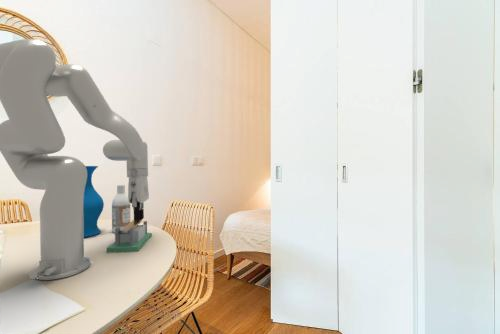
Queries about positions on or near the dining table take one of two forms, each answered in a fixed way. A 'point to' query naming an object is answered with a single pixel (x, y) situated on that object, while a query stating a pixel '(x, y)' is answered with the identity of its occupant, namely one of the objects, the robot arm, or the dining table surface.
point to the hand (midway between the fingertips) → (138, 219)
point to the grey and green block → (130, 239)
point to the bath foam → (120, 209)
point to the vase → (91, 205)
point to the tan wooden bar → (131, 224)
